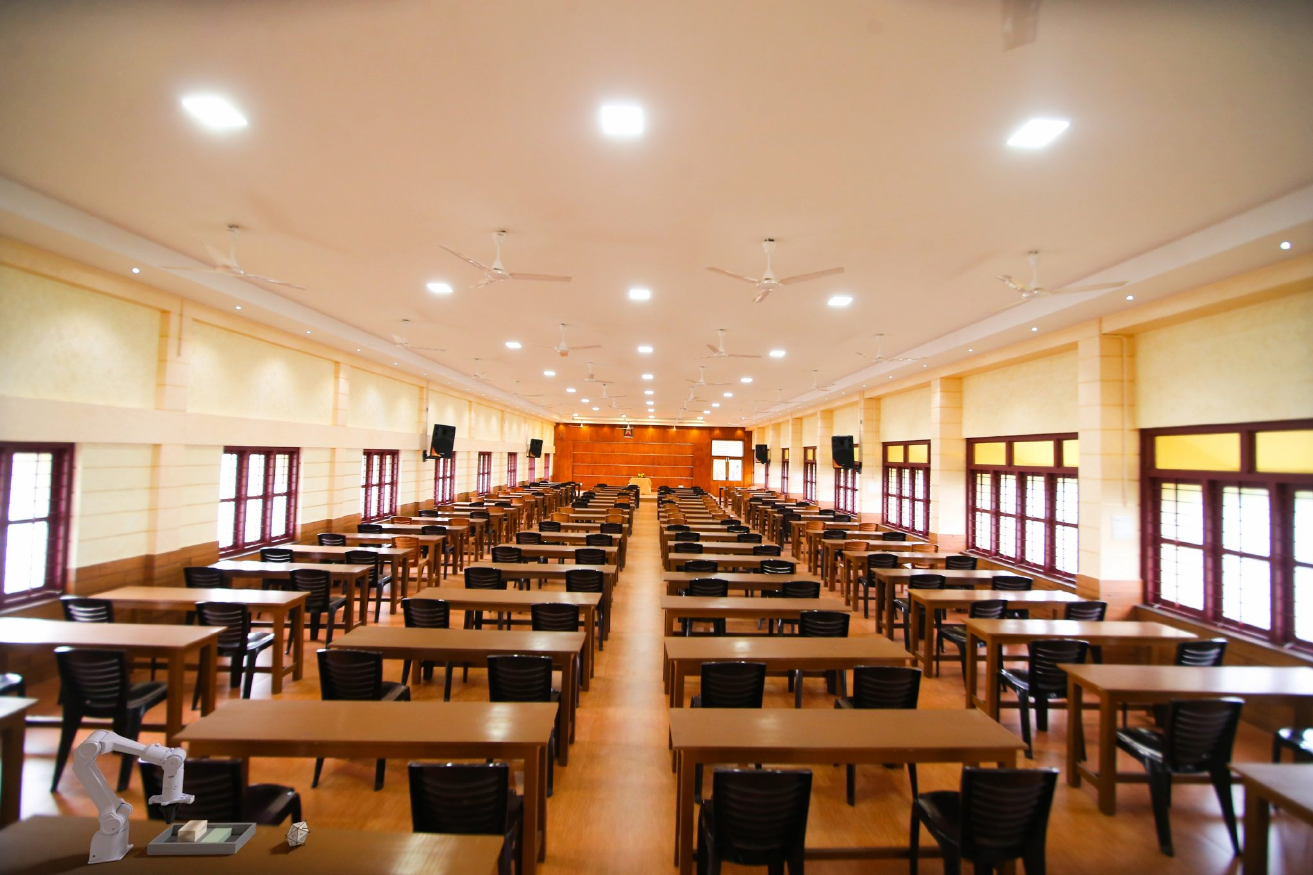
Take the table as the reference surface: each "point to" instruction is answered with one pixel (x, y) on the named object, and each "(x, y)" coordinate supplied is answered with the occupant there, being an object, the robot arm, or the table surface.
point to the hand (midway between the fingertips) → (169, 822)
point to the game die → (297, 833)
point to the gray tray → (203, 840)
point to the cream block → (192, 831)
